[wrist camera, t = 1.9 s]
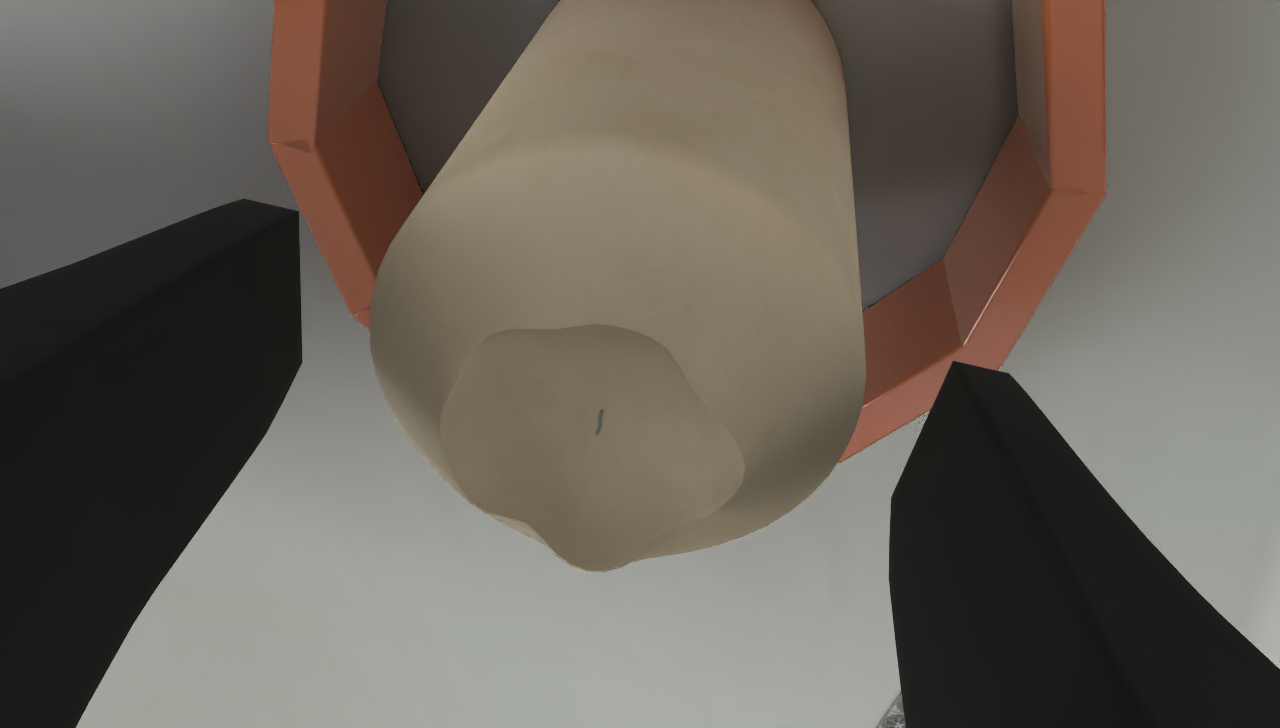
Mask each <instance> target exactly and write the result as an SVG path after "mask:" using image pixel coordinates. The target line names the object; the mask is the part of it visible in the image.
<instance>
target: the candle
mask: <svg viewBox="0 0 1280 728" xmlns="http://www.w3.org/2000/svg"><path fill="white" fill-rule="evenodd" d="M369 330H370V346H371V353H372V357H373V362H374V367H375V371H376V376H377V378H378V381H379V384H380V386H381V389H382V392H383V395H384V397H385V400H386V402H387V404H388V406H389V408H390V410H391V411H392V413H393V415H394V417H395V419H396V421H397V423H398V425H399V426H400V427H401V429H402V430H403V432H404V433H405V435H406V436H407V438H408V439H409V440H410V442H411V443H412V445H413V446H414V447H415V449H416V450H417V451H418V452H419V453H420V454H421V455H422V457H423V458H424V459H425V460H426V461H427V462H428V463H429V465H430V466H431V467H432V468H433V469H434V470H435V471H436V472H437V473H438V474H439V475H440V476H441V477H442V478H443V479H444V480H445V481H447V482H448V483H449V484H450V485H451V486H452V487H453V488H454V489H455V490H456V491H457V492H459V493H460V494H461V495H462V496H463V497H464V498H465V499H467V500H468V501H469V502H470V503H471V504H472V505H474V506H475V507H477V508H478V509H480V510H481V511H483V512H484V513H487V514H489V515H490V516H492V517H494V518H495V519H497V520H499V521H501V522H502V523H504V524H506V525H507V526H509V527H511V528H513V529H515V530H517V531H519V532H521V533H523V534H525V535H527V536H529V537H531V538H533V539H535V540H537V541H539V542H541V543H543V544H544V545H546V546H547V547H548V548H549V549H550V550H551V551H552V552H553V553H554V554H555V555H556V556H557V557H559V558H560V559H562V560H563V561H565V562H566V563H568V564H569V565H571V566H573V567H576V568H579V569H582V570H585V571H596V572H606V571H609V570H613V569H616V568H620V567H623V566H625V565H627V564H629V563H631V562H635V561H638V560H643V559H647V558H653V557H660V556H667V555H674V554H680V553H685V552H690V551H694V550H699V549H704V548H708V547H712V546H715V545H718V544H722V543H725V542H728V541H731V540H734V539H737V538H740V537H743V536H745V535H747V534H749V533H752V532H754V531H756V530H758V529H760V528H762V527H765V526H767V525H769V524H770V523H772V522H774V521H775V520H777V519H778V518H780V517H782V516H783V515H785V514H786V513H788V512H790V511H791V510H792V509H794V508H795V507H796V506H797V505H799V504H800V503H801V502H802V501H804V500H805V499H806V498H807V497H808V496H810V495H811V494H812V493H813V492H814V491H815V490H816V489H817V487H818V486H819V485H820V484H821V483H822V482H823V481H824V480H825V479H826V478H827V477H828V476H829V474H830V473H831V472H832V470H833V469H834V467H835V466H836V464H837V463H838V461H839V460H840V458H841V457H842V456H843V454H844V452H845V450H846V448H847V446H848V444H849V442H850V440H851V438H852V436H853V434H854V431H855V429H856V426H857V422H858V419H859V416H860V412H861V409H862V405H863V399H864V391H865V383H866V362H865V341H864V326H863V313H862V299H861V286H860V272H859V259H858V246H857V232H856V219H855V205H854V192H853V179H852V165H851V152H850V139H849V125H848V112H847V99H846V90H845V83H844V76H843V71H842V65H841V60H840V56H839V53H838V50H837V47H836V44H835V41H834V38H833V36H832V34H831V32H830V30H829V28H828V26H827V24H826V22H825V20H824V18H823V17H822V15H821V14H820V12H819V11H818V10H817V8H816V7H815V5H814V4H813V2H812V1H811V0H560V1H559V3H558V4H557V5H556V6H555V8H554V9H553V10H552V11H551V13H550V14H549V16H548V17H547V19H546V20H545V22H544V23H543V24H542V26H541V27H540V29H539V30H538V32H537V33H536V34H535V36H534V37H533V39H532V40H531V42H530V43H529V44H528V46H527V47H526V49H525V50H524V52H523V53H522V55H521V56H520V57H519V59H518V60H517V62H516V63H515V65H514V66H513V67H512V69H511V70H510V72H509V73H508V75H507V76H506V77H505V79H504V80H503V82H502V83H501V85H500V86H499V87H498V89H497V90H496V92H495V93H494V95H493V96H492V98H491V99H490V100H489V102H488V103H487V105H486V106H485V108H484V109H483V110H482V112H481V113H480V115H479V116H478V118H477V119H476V120H475V122H474V123H473V125H472V126H471V128H470V129H469V131H468V132H467V133H466V135H465V136H464V138H463V139H462V141H461V142H460V143H459V145H458V146H457V148H456V149H455V151H454V152H453V153H452V155H451V156H450V158H449V159H448V161H447V162H446V163H445V165H444V166H443V168H442V169H441V171H440V172H439V174H438V175H437V176H436V178H435V179H434V181H433V182H432V184H431V185H430V186H429V188H428V189H427V191H426V192H425V194H424V195H423V197H422V198H421V199H420V201H419V202H418V204H417V205H416V207H415V208H414V209H413V211H412V212H411V214H410V215H409V217H408V218H407V220H406V221H405V223H404V224H403V226H402V227H401V229H400V230H399V232H398V233H397V235H396V236H395V238H394V239H393V241H392V242H391V244H390V245H389V248H388V250H387V252H386V254H385V256H384V259H383V261H382V263H381V265H380V268H379V270H378V273H377V277H376V281H375V285H374V289H373V292H372V296H371V307H370V318H369Z"/></svg>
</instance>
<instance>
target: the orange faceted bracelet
mask: <svg viewBox="0 0 1280 728" xmlns="http://www.w3.org/2000/svg"><path fill="white" fill-rule="evenodd" d="M386 6H387V0H274V17H273V36H272V54H271V73H270V92H269V111H268V129H267V141H268V142H269V146H270V148H271V150H272V152H273V154H274V156H275V158H276V160H277V162H278V164H279V167H280V169H281V171H282V173H283V175H284V177H285V179H286V181H287V183H288V185H289V187H290V189H291V192H292V194H293V196H294V198H295V200H296V202H297V204H298V206H299V208H300V210H301V212H302V214H303V216H304V219H305V221H306V223H307V225H308V227H309V229H310V231H311V233H312V235H313V237H314V239H315V241H316V244H317V246H318V248H319V250H320V252H321V254H322V256H323V258H324V260H325V262H326V264H327V266H328V268H329V271H330V273H331V275H332V277H333V279H334V281H335V283H336V285H337V287H338V289H339V291H340V293H341V296H342V298H343V300H344V302H345V304H346V306H347V308H348V310H349V312H350V313H351V314H352V315H353V317H354V319H356V320H357V321H358V322H359V323H360V324H362V325H363V326H364V327H365V328H367V329H368V330H369V318H370V307H371V296H372V292H373V289H374V285H375V281H376V277H377V273H378V270H379V268H380V265H381V263H382V261H383V259H384V256H385V254H386V252H387V250H388V248H389V245H390V244H391V242H392V241H393V239H394V238H395V236H396V235H397V233H398V232H399V230H400V229H401V227H402V226H403V224H404V223H405V221H406V220H407V218H408V217H409V215H410V214H411V212H412V211H413V209H414V208H415V207H416V205H417V204H418V202H419V201H420V199H421V198H422V197H423V193H422V191H421V188H420V186H419V183H418V181H417V179H416V176H415V174H414V171H413V169H412V166H411V164H410V161H409V159H408V156H407V154H406V151H405V149H404V146H403V144H402V142H401V139H400V137H399V134H398V132H397V129H396V127H395V124H394V122H393V119H392V117H391V114H390V112H389V109H388V107H387V105H386V102H385V100H384V97H383V95H382V92H381V90H380V87H379V85H378V82H377V81H378V73H379V64H380V56H381V48H382V39H383V31H384V22H385V14H386ZM1012 17H1013V34H1014V51H1015V68H1016V85H1017V102H1018V118H1017V120H1016V122H1015V123H1014V125H1013V127H1012V129H1011V131H1010V133H1009V135H1008V137H1007V139H1006V141H1005V142H1004V144H1003V146H1002V148H1001V150H1000V152H999V154H998V156H997V158H996V160H995V161H994V163H993V165H992V167H991V169H990V171H989V173H988V175H987V177H986V179H985V180H984V182H983V184H982V186H981V188H980V190H979V192H978V194H977V196H976V198H975V199H974V201H973V203H972V205H971V207H970V209H969V211H968V213H967V215H966V217H965V218H964V220H963V222H962V224H961V226H960V228H959V230H958V232H957V234H956V235H955V237H954V239H953V241H952V243H951V245H950V247H949V249H948V251H947V253H946V254H945V256H944V258H943V259H941V260H940V261H938V262H937V263H935V264H934V265H932V266H931V267H929V268H928V269H926V270H925V271H924V272H922V273H921V274H919V275H918V276H916V277H915V278H913V279H912V280H910V281H909V282H907V283H906V284H904V285H903V286H901V287H900V288H898V289H897V290H895V291H894V292H892V293H891V294H889V295H888V296H886V297H885V298H883V299H882V300H880V301H879V302H877V303H876V304H874V305H873V306H871V307H870V308H868V309H867V310H865V311H864V312H862V313H863V326H864V341H865V362H866V383H865V391H864V399H863V405H862V409H861V412H860V416H859V419H858V422H857V426H856V429H855V431H854V434H853V436H852V438H851V440H850V442H849V444H848V446H847V448H846V450H845V452H844V454H843V456H842V457H841V458H840V460H839V461H838V463H841V462H843V461H845V460H846V459H848V458H850V457H851V456H853V455H855V454H856V453H858V452H860V451H861V450H863V449H865V448H867V447H868V446H870V445H872V444H873V443H875V442H877V441H878V440H880V439H882V438H884V437H885V436H887V435H889V434H890V433H892V432H894V431H895V430H897V429H899V428H900V427H902V426H904V425H906V424H907V423H909V422H911V421H912V420H914V419H916V418H917V417H919V416H921V415H923V414H924V413H926V412H928V411H929V410H931V408H932V406H933V404H934V402H935V399H936V397H937V395H938V393H939V390H940V388H941V386H942V384H943V382H944V379H945V377H946V375H947V373H948V370H949V368H950V366H951V364H952V362H953V361H957V362H961V363H966V364H970V365H975V366H979V367H983V368H988V369H992V370H996V371H997V370H998V369H999V368H1000V367H1001V366H1002V364H1003V363H1004V361H1005V359H1006V358H1007V356H1008V355H1009V353H1010V351H1011V350H1012V348H1013V346H1014V345H1015V343H1016V341H1017V340H1018V338H1019V337H1020V335H1021V333H1022V332H1023V330H1024V328H1025V327H1026V325H1027V323H1028V322H1029V320H1030V319H1031V317H1032V315H1033V314H1034V312H1035V310H1036V309H1037V307H1038V306H1039V304H1040V302H1041V301H1042V299H1043V297H1044V296H1045V294H1046V292H1047V291H1048V289H1049V288H1050V286H1051V284H1052V283H1053V281H1054V279H1055V278H1056V276H1057V275H1058V273H1059V271H1060V270H1061V268H1062V266H1063V265H1064V263H1065V261H1066V260H1067V258H1068V257H1069V255H1070V253H1071V252H1072V250H1073V248H1074V247H1075V245H1076V244H1077V242H1078V240H1079V239H1080V237H1081V235H1082V234H1083V232H1084V230H1085V229H1086V227H1087V226H1088V224H1089V222H1090V221H1091V219H1092V217H1093V216H1094V214H1095V212H1096V211H1097V209H1098V208H1099V206H1100V204H1101V203H1102V201H1103V199H1104V198H1105V195H1106V189H1107V115H1106V11H1105V0H1012ZM369 331H370V330H369Z"/></svg>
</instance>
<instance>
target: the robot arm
mask: <svg viewBox="0 0 1280 728" xmlns="http://www.w3.org/2000/svg"><path fill="white" fill-rule="evenodd" d="M301 364H302V330H301V287H300V245H299V211H296V210H291V209H287V208H282V207H278V206H274V205H269V204H265V203H260V202H256V201H252V200H247V199H241V200H238V201H235V202H231V203H228V204H225V205H222V206H219V207H216V208H213V209H211V210H208V211H205V212H203V213H200V214H197V215H195V216H192V217H190V218H187V219H184V220H182V221H179V222H177V223H174V224H172V225H169V226H167V227H164V228H162V229H159V230H157V231H154V232H152V233H149V234H147V235H144V236H142V237H139V238H137V239H134V240H132V241H129V242H127V243H124V244H122V245H119V246H117V247H114V248H111V249H109V250H106V251H104V252H101V253H99V254H96V255H94V256H91V257H89V258H86V259H84V260H81V261H78V262H76V263H73V264H70V265H68V266H65V267H62V268H59V269H56V270H53V271H50V272H48V273H45V274H42V275H39V276H36V277H33V278H30V279H28V280H25V281H22V282H19V283H16V284H13V285H10V286H8V287H5V288H2V289H0V728H76V726H77V724H78V722H79V720H80V718H81V716H82V714H83V713H84V711H85V709H86V707H87V705H88V703H89V701H90V700H91V698H92V696H93V694H94V693H95V691H96V689H97V687H98V685H99V684H100V682H101V680H102V678H103V676H104V675H105V673H106V671H107V669H108V668H109V666H110V664H111V662H112V660H113V659H114V657H115V655H116V653H117V652H118V650H119V648H120V646H121V644H122V643H123V641H124V639H125V637H126V636H127V634H128V632H129V630H130V628H131V627H132V625H133V623H134V622H135V620H136V619H137V617H138V616H139V614H140V613H141V611H142V609H143V608H144V606H145V605H146V603H147V602H148V600H149V599H150V597H151V596H152V594H153V593H154V591H155V589H156V588H157V587H158V585H159V584H160V582H161V581H162V580H163V578H164V577H165V575H166V574H167V573H168V571H169V570H170V568H171V567H172V566H173V564H174V563H175V561H176V560H177V559H178V557H179V556H180V554H181V553H182V552H183V550H184V549H185V547H186V546H187V545H188V543H189V542H190V541H191V539H192V538H193V536H194V535H195V534H196V532H197V531H198V529H199V528H200V527H201V525H202V524H203V522H204V521H205V520H206V518H207V517H208V515H209V514H210V513H211V511H212V510H213V508H214V507H215V506H216V504H217V503H218V502H219V500H220V499H221V497H222V496H223V495H224V493H225V492H226V490H227V489H228V488H229V486H230V485H231V483H232V482H233V480H234V479H235V478H236V476H237V475H238V473H239V472H240V471H241V469H242V468H243V466H244V465H245V463H246V462H247V461H248V459H249V458H250V456H251V455H252V453H253V452H254V451H255V449H256V448H257V446H258V445H259V443H260V442H261V440H262V439H263V437H264V436H265V434H266V433H267V431H268V429H269V427H270V425H271V423H272V421H273V420H274V418H275V416H276V414H277V412H278V410H279V408H280V406H281V404H282V403H283V401H284V399H285V397H286V394H287V392H288V390H289V388H290V386H291V384H292V382H293V380H294V378H295V376H296V374H297V372H298V370H299V368H300V366H301ZM889 583H890V594H891V604H892V613H893V622H894V631H895V641H896V649H897V658H898V666H899V675H900V684H901V692H902V701H903V709H904V718H905V727H906V728H1280V669H1279V668H1278V667H1277V666H1276V665H1274V664H1273V663H1272V662H1271V661H1270V660H1269V659H1268V658H1267V657H1266V656H1265V655H1264V654H1263V653H1262V652H1260V651H1259V650H1258V649H1257V648H1256V647H1255V646H1254V645H1253V644H1252V643H1251V642H1250V641H1249V640H1248V639H1246V638H1245V637H1244V636H1243V635H1242V634H1241V633H1240V632H1239V631H1238V630H1237V629H1236V628H1235V627H1234V626H1232V625H1231V624H1230V623H1229V622H1228V621H1227V620H1226V619H1225V618H1224V617H1223V616H1222V615H1221V614H1220V613H1219V612H1218V611H1217V610H1216V609H1215V608H1214V607H1213V606H1212V605H1211V604H1210V603H1209V602H1208V601H1206V600H1205V599H1204V598H1203V597H1202V596H1201V595H1200V594H1199V593H1198V592H1197V591H1196V590H1195V588H1194V587H1193V586H1192V585H1191V584H1190V583H1189V582H1188V581H1187V580H1186V579H1185V578H1184V577H1183V576H1182V575H1181V574H1180V573H1179V572H1178V570H1177V569H1176V568H1175V567H1174V566H1173V565H1172V564H1171V563H1170V562H1169V561H1168V560H1167V559H1166V558H1165V557H1164V555H1163V554H1162V553H1161V552H1160V551H1159V550H1158V549H1157V548H1156V547H1155V546H1154V545H1153V544H1152V543H1151V542H1150V541H1149V539H1148V538H1147V537H1146V536H1145V535H1144V534H1143V533H1142V531H1141V530H1140V529H1139V528H1138V527H1137V526H1136V525H1135V524H1134V522H1133V521H1132V520H1131V519H1130V518H1129V517H1128V516H1127V514H1126V513H1125V512H1124V511H1123V510H1122V509H1121V507H1120V506H1119V505H1118V504H1117V503H1116V502H1115V500H1114V499H1113V498H1112V497H1111V496H1110V495H1109V493H1108V492H1107V491H1106V490H1105V489H1104V487H1103V486H1102V485H1101V484H1100V483H1099V481H1098V480H1097V479H1096V478H1095V477H1094V475H1093V474H1092V473H1091V472H1090V470H1089V469H1088V468H1087V467H1086V466H1085V464H1084V463H1083V462H1082V461H1081V459H1080V458H1079V457H1078V456H1077V455H1076V453H1075V452H1074V451H1073V450H1072V448H1071V447H1070V446H1069V445H1068V443H1067V442H1066V441H1065V440H1064V438H1063V437H1062V436H1061V435H1060V433H1059V432H1058V431H1057V430H1056V428H1055V427H1054V426H1053V425H1052V423H1051V422H1050V421H1049V420H1048V418H1047V417H1046V416H1045V415H1044V414H1043V412H1042V411H1041V410H1040V409H1039V407H1038V406H1037V405H1036V404H1035V402H1034V401H1033V400H1032V399H1031V398H1030V396H1029V395H1028V394H1027V393H1026V392H1025V391H1024V389H1023V388H1022V387H1021V386H1020V385H1019V384H1018V383H1017V382H1016V380H1015V379H1014V378H1013V377H1012V376H1011V375H1010V374H1009V373H1005V372H1001V371H996V370H992V369H988V368H983V367H979V366H975V365H970V364H966V363H961V362H957V361H953V362H952V364H951V366H950V368H949V370H948V373H947V375H946V377H945V379H944V382H943V384H942V386H941V388H940V390H939V393H938V395H937V397H936V399H935V402H934V404H933V406H932V408H931V410H930V413H929V415H928V417H927V419H926V422H925V424H924V426H923V428H922V430H921V433H920V435H919V437H918V439H917V442H916V444H915V446H914V448H913V450H912V453H911V455H910V457H909V459H908V462H907V464H906V466H905V468H904V470H903V473H902V475H901V477H900V479H899V482H898V484H897V486H896V488H895V490H894V493H893V495H892V497H891V517H890V541H889Z"/></svg>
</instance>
